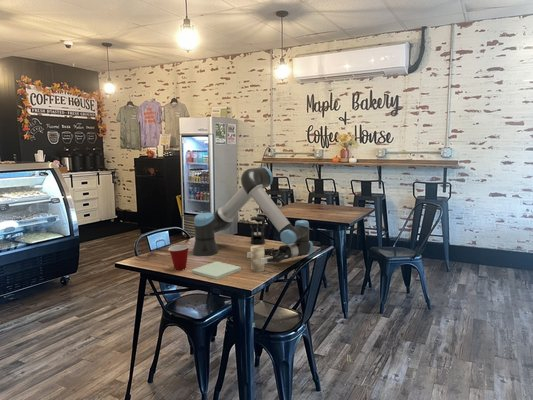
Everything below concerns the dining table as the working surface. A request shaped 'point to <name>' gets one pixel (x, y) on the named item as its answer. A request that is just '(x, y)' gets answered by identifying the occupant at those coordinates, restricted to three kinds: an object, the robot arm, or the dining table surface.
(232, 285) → the dining table surface
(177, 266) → the plastic cup
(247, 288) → the dining table surface
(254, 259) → the birch roller
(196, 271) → the board
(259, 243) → the french press
